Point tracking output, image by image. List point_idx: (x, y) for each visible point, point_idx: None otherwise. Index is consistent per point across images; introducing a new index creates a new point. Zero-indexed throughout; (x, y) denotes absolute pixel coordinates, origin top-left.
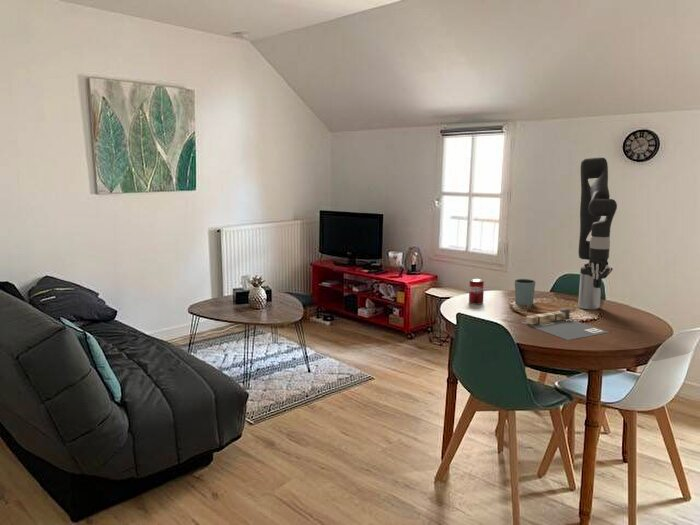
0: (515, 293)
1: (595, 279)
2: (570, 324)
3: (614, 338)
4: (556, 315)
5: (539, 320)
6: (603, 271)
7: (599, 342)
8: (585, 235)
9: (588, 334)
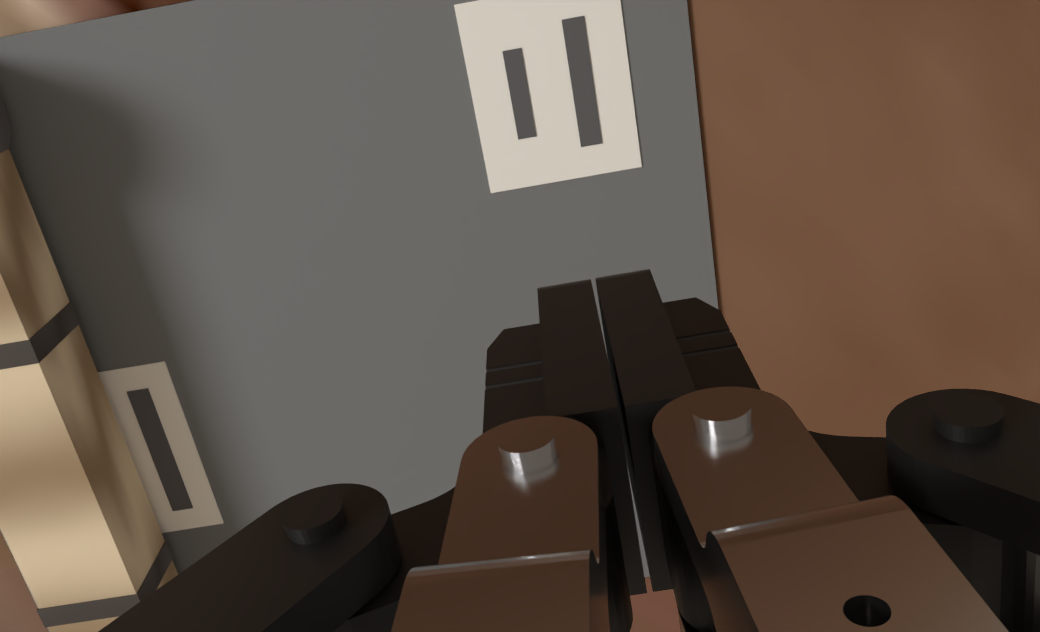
0: None
1: (644, 583)
2: (230, 204)
3: (901, 45)
4: (39, 333)
5: (154, 563)
6: (959, 617)
7: (933, 315)
8: None
9: (663, 255)
